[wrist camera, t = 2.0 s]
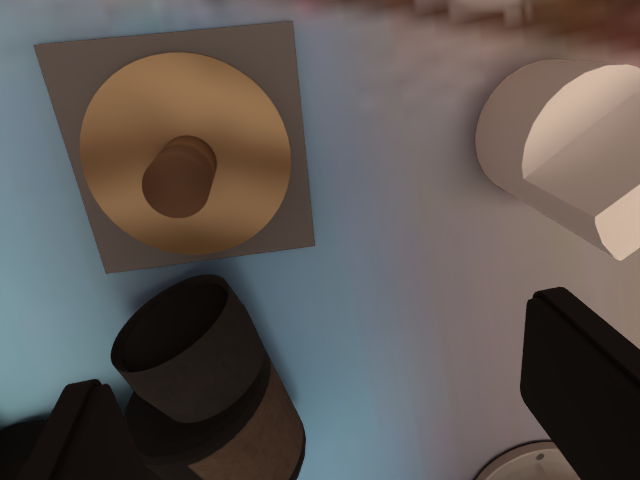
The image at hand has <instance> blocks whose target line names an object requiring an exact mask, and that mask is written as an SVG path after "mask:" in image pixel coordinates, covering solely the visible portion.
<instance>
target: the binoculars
mask: <svg viewBox="0 0 640 480" xmlns="http://www.w3.org/2000/svg"><path fill="white" fill-rule="evenodd" d="M111 361H112V364H113V365H114V367H115V368H116V369H117V370H118V372H119V373H120V374H121V375H122V376H123V378H124V379H125V380H126V381H127V382H128V384H129V385H130V386H131V387H132V388H133V390H134V392H133V394H132V396H131V398H130V400H129V402H128V404H127V407H126V411H125V416H124V419H125V421H126V423H127V426H128V428H129V430H130V432H131V435H132V437H133V439H134V441H135V444H136V446H137V448H138V451H139V453H140V455H141V457H142V460H143V462H144V464H145V466H146V469H147V475H148V480H296V479H297V478H298V476H299V473H300V470H301V467H302V464H303V461H304V457H305V444H306V436H305V431H304V427H303V423H302V421H301V419H300V417H299V415H298V413H297V411H296V409H295V407H294V405H293V403H292V401H291V399H290V397H289V395H288V393H287V391H286V389H285V387H284V385H283V383H282V381H281V379H280V377H279V375H278V374H277V372H276V370H275V368H274V366H273V364H272V362H271V360H270V358H269V356H268V354H267V352H266V350H265V348H264V346H263V343H262V341H261V339H260V337H259V335H258V333H257V331H256V329H255V327H254V325H253V323H252V320H251V318H250V316H249V314H248V312H247V310H246V308H245V307H244V305H243V304H242V303H241V301H240V300H239V299H238V297H237V296H236V294H235V293H234V292H233V290H232V289H231V287H230V286H229V285H228V283H227V282H226V281H225V280H224V279H223V278H221V277H220V276H216V275H200V276H196V277H192V278H189V279H186V280H184V281H181V282H179V283H177V284H175V285H173V286H171V287H169V288H167V289H166V290H164V291H162V292H161V293H159V294H158V295H156V296H155V297H153V298H152V299H151V300H149V301H148V302H147V303H146V304H144V305H143V306H142V307H141V308H140V309H139V310H138V311H137V312H136V313H135V314H134V315H133V316H132V317H131V318H130V319H129V320H128V321H127V323H126V324H125V325H124V326H123V328H122V329H121V331H120V332H119V334H118V336H117V337H116V339H115V341H114V344H113V346H112V350H111ZM46 423H47V421H32V422H27V423H22V424H17V425H13V426H11V427H8V428H6V429H3V430H1V431H0V480H16V478H17V476H18V474H19V472H20V470H21V469H22V467H23V466H24V464H25V463H26V462H27V461H28V459H29V457H30V455H31V453H32V451H33V449H34V447H35V445H36V443H37V441H38V439H39V437H40V435H41V433H42V431H43V429H44V427H45V425H46Z"/></svg>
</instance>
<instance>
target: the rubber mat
mask: <svg viewBox="0 0 640 480" xmlns="http://www.w3.org/2000/svg"><path fill="white" fill-rule="evenodd" d="M34 49H35V52H36V55H37V58H38V61H39V64H40V67H41V71H42V74H43V77H44V80H45V83H46V86H47V89H48V93H49V96H50V99H51V102H52V105H53V108H54V112H55V115H56V118H57V121H58V124H59V127H60V130H61V134H62V137H63V140H64V143H65V146H66V149H67V152H68V156H69V159H70V162H71V165H72V168H73V171H74V174H75V178H76V181H77V184H78V187H79V190H80V193H81V196H82V200H83V203H84V206H85V209H86V212H87V215H88V218H89V222H90V225H91V228H92V231H93V234H94V237H95V241H96V244H97V247H98V250H99V253H100V256H101V259H102V263H103V266H104V269H105V272H106V274H108V273H115V272H123V271H130V270H138V269H145V268H153V267H160V266H168V265H175V264H183V263H190V262H198V261H205V260H213V259H220V258H228V257H235V256H243V255H251V254H258V253H266V252H273V251H281V250H288V249H296V248H303V247H311V246H315V240H314V230H313V220H312V210H311V200H310V190H309V180H308V170H307V160H306V150H305V140H304V130H303V120H302V110H301V100H300V90H299V80H298V69H297V59H296V49H295V39H294V29H293V21H289V22H278V23H267V24H257V25H246V26H235V27H224V28H213V29H202V30H191V31H180V32H169V33H159V34H148V35H137V36H126V37H115V38H104V39H93V40H82V41H71V42H60V43H50V44H39V45H34ZM169 52H188V53H198V54H202V55H206V56H210V57H214V58H216V59H219V60H221V61H224V62H227V63H228V64H230V65H232V66H234V67H236V68H238V69H239V70H241V71H242V72H243V73H245V74H246V75H248V76H249V77H250V78H251V79H253V80H254V81H255V82H256V83H257V84H258V85H259V86H260V87H261V88H262V89H263V90H264V92H265V93H266V94H267V95H268V97H269V98H270V99H271V101H272V102H273V104H274V105H275V107H276V109H277V110H278V113H279V115H280V117H281V119H282V121H283V124H284V127H285V130H286V133H287V136H288V140H289V146H290V152H291V171H290V179H289V183H288V188H287V191H286V193H285V196H284V199H283V201H282V203H281V205H280V207H279V208H278V210H277V212H276V213H275V215H274V216H273V217H272V219H271V220H270V221H269V222H268V223H267V224H266V225H265V227H264V228H263V229H262V230H260V231H259V232H258V233H257V234H255V235H254V236H253V237H251V238H250V239H248V240H247V241H245V242H243V243H241V244H239V245H237V246H235V247H233V248H230V249H227V250H224V251H221V252H216V253H211V254H202V255H185V254H177V253H171V252H167V251H163V250H160V249H157V248H154V247H151V246H149V245H146V244H144V243H142V242H141V241H139V240H137V239H135V238H133V237H132V236H130V235H129V234H127V233H126V232H125V231H123V230H122V229H121V228H120V227H118V226H117V225H116V224H115V223H114V222H113V221H112V220H111V219H110V218H109V217H108V216H107V215H106V214H105V212H104V211H103V210H102V209H101V207H100V206H99V204H98V203H97V202H96V200H95V198H94V196H93V195H92V193H91V191H90V189H89V187H88V184H87V182H86V179H85V176H84V173H83V169H82V165H81V158H80V132H81V127H82V122H83V119H84V116H85V113H86V110H87V108H88V106H89V104H90V102H91V100H92V98H93V97H94V95H95V94H96V92H97V91H98V90H99V88H100V87H101V86H102V84H104V83H105V82H106V81H107V80H108V79H109V78H110V77H111V76H112V75H113V74H114V73H116V72H117V71H119V70H120V69H122V68H123V67H124V66H126V65H128V64H130V63H132V62H135V61H137V60H139V59H142V58H145V57H148V56H152V55H158V54H163V53H169Z"/></svg>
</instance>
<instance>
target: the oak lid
mask: <svg viewBox="0 0 640 480" xmlns="http://www.w3.org/2000/svg"><path fill="white" fill-rule="evenodd" d="M80 158H81V165H82V169H83V173H84V176H85V179H86V182H87V184H88V187H89V189H90V191H91V193H92V195H93V196H94V198H95V200H96V202H97V203H98V204H99V206H100V207H101V209H102V210H103V211H104V212H105V214H106V215H107V216H108V217H109V218H110V219H111V220H112V221H113V222H114V223H115V224H116V225H117V226H118V227H120V228H121V229H122V230H123V231H125V232H126V233H127V234H129V235H130V236H132V237H133V238H135V239H137V240H139V241H141V242H142V243H144V244H146V245H149V246H151V247H154V248H157V249H160V250H163V251H167V252H171V253H177V254H185V255H202V254H211V253H216V252H221V251H224V250H227V249H230V248H233V247H235V246H237V245H239V244H241V243H243V242H245V241H247V240H248V239H250V238H251V237H253V236H254V235H255V234H257V233H258V232H259V231H260V230H262V229H263V228H264V227H265V225H266V224H267V223H268V222H269V221H270V220H271V219H272V217H273V216H274V215H275V213H276V212H277V210H278V208H279V207H280V205H281V203H282V201H283V199H284V196H285V193H286V191H287V188H288V183H289V179H290V171H291V152H290V146H289V140H288V136H287V133H286V130H285V127H284V124H283V121H282V119H281V117H280V115H279V113H278V110H277V109H276V107H275V105H274V104H273V102H272V101H271V99H270V98H269V97H268V95H267V94H266V93H265V92H264V90H263V89H262V88H261V87H260V86H259V85H258V84H257V83H256V82H255V81H254V80H253V79H251V78H250V77H249V76H248V75H246V74H245V73H243V72H242V71H241V70H239V69H238V68H236V67H234V66H232V65H230V64H228V63H227V62H224V61H221V60H219V59H216V58H214V57H210V56H206V55H202V54H198V53H188V52H169V53H163V54H158V55H152V56H148V57H145V58H142V59H139V60H137V61H135V62H132V63H130V64H128V65H126V66H124V67H123V68H122V69H120V70H119V71H117V72H116V73H114V74H113V75H112V76H111V77H110V78H109V79H108V80H107V81H106V82H105V83H104V84H102V86H101V87H100V88H99V90H98V91H97V92H96V94H95V95H94V97H93V98H92V100H91V102H90V104H89V106H88V108H87V110H86V113H85V116H84V119H83V122H82V127H81V132H80Z"/></svg>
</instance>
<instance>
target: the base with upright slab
mask: <svg viewBox="0 0 640 480" xmlns="http://www.w3.org/2000/svg"><path fill="white" fill-rule="evenodd" d="M475 147H476V153H477V159H478V161H479V163H480V166H481V168H482V170H483V172H484V174H485V175H486V176H487V177H488V178H489V179H490V180H491V181H492V182H493V183H494V184H495V185H497V186H499V187H500V188H502V189H504V190H505V191H507V192H508V193H510V194H512V195H513V196H515V197H516V198H518V199H520V200H521V201H523V202H525V203H526V204H528V205H529V206H531V207H533V208H534V209H536V210H538V211H539V212H541V213H542V214H544V215H546V216H547V217H549V218H551V219H552V220H554V221H555V222H557V223H559V224H560V225H562V226H564V227H565V228H567V229H568V230H570V231H572V232H573V233H575V234H577V235H578V236H580V237H581V238H583V239H585V240H586V241H588V242H590V243H591V244H593V245H594V246H596V247H598V248H599V249H601V250H603V251H604V252H606V253H607V254H609V255H611V256H612V257H614V258H616V259H617V260H619V261H621V260H623V259H624V258H626V257H627V256H628V255H630V254H631V253H633V252H634V251H636V250H637V249H638V248H640V68H638V67H635V66H631V65H627V64H615V63H602V62H588V61H575V60H562V59H553V60H540V61H537V62H534V63H531V64H528V65H525V66H523V67H521V68H520V69H518V70H517V71H515V72H513V73H512V74H510V75H509V76H507V77H506V78H505V79H504V80H503V81H502V82H501V83H500V84H499V85H498V86H497V88H496V89H495V90H494V91H493V92H492V94H491V95H490V97H489V99H488V100H487V102H486V103H485V105H484V107H483V109H482V112H481V115H480V117H479V120H478V123H477V128H476V137H475Z"/></svg>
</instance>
